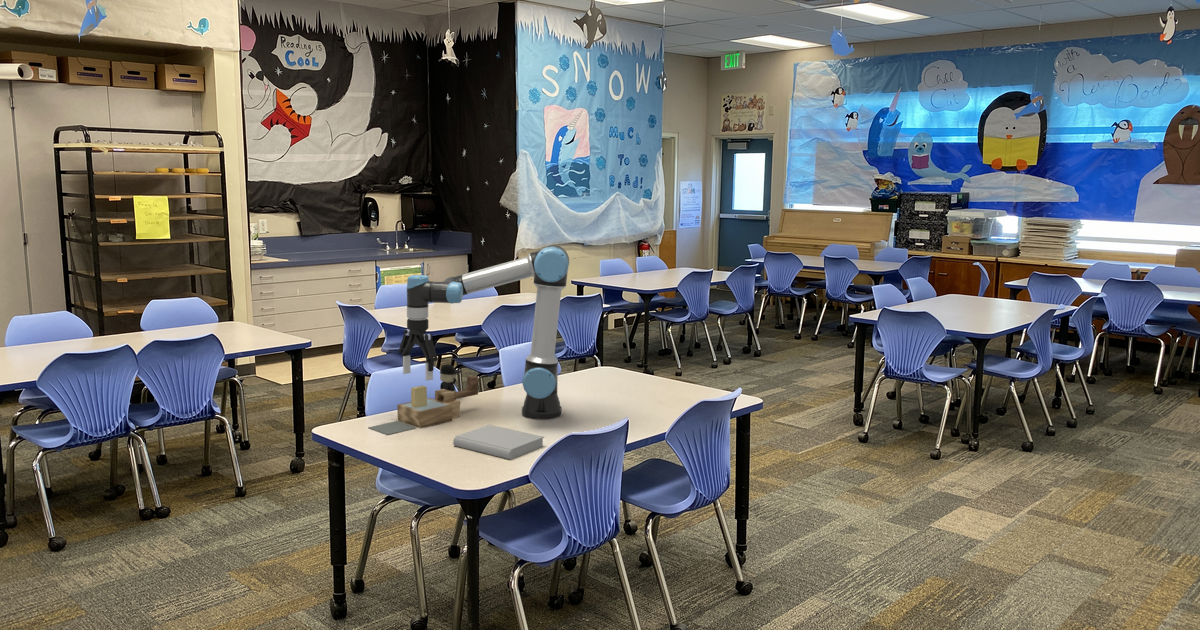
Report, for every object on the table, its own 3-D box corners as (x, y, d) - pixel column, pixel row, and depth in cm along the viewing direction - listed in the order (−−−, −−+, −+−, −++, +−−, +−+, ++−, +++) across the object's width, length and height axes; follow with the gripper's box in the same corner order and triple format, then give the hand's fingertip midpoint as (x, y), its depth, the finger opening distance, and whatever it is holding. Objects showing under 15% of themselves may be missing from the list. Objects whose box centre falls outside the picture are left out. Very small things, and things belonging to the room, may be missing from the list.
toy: (465, 400, 344) (465, 363, 342) (449, 404, 338) (448, 366, 336) (452, 397, 349) (452, 360, 347) (436, 400, 343) (436, 364, 340)
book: (489, 424, 299) (544, 436, 286) (489, 435, 299) (544, 447, 286) (453, 436, 284) (509, 450, 271) (453, 447, 284) (509, 461, 271)
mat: (416, 428, 304) (416, 427, 304) (387, 435, 295) (387, 434, 295) (396, 421, 312) (396, 420, 312) (368, 428, 303) (368, 427, 303)
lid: (447, 407, 313) (447, 386, 312) (421, 413, 305) (420, 391, 304) (428, 401, 321) (428, 380, 320) (401, 407, 313) (401, 385, 312)
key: (478, 394, 329) (478, 376, 328) (446, 401, 318) (446, 382, 317) (473, 393, 331) (473, 375, 330) (441, 399, 320) (441, 381, 319)
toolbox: (465, 417, 319) (465, 392, 317) (420, 428, 304) (420, 402, 303) (442, 410, 328) (441, 386, 327) (397, 420, 313) (397, 395, 312)
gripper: (447, 322, 301) (447, 381, 304) (406, 313, 317) (406, 369, 321) (430, 324, 295) (430, 384, 298) (388, 315, 312) (389, 372, 315)
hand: (417, 376), depth 309 cm, fingers open, 13 cm apart
